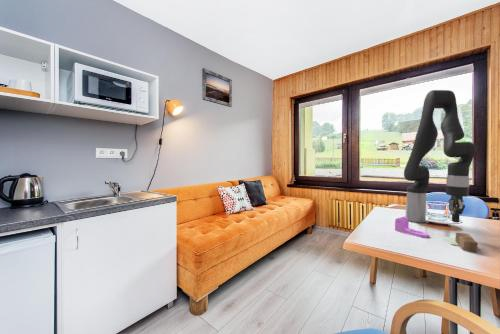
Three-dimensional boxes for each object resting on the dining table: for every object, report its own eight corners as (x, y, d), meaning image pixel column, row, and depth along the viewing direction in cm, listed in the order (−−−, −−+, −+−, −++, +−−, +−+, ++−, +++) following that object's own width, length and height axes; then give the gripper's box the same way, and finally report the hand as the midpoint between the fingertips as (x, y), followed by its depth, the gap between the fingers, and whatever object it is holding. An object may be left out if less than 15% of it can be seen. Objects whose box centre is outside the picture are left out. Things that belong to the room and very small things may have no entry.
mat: (450, 244, 90) (451, 243, 90) (443, 237, 99) (443, 236, 99) (480, 249, 86) (480, 248, 86) (470, 240, 94) (470, 240, 94)
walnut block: (455, 240, 93) (463, 250, 85) (455, 232, 92) (463, 240, 84) (467, 242, 91) (476, 252, 83) (468, 233, 90) (477, 242, 82)
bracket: (394, 230, 109) (395, 217, 108) (400, 228, 111) (400, 215, 111) (425, 238, 97) (426, 224, 97) (430, 236, 100) (431, 222, 100)
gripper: (474, 187, 89) (472, 227, 90) (463, 184, 100) (461, 219, 101) (451, 186, 93) (449, 224, 94) (442, 183, 104) (440, 217, 105)
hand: (455, 221), depth 98 cm, fingers closed
